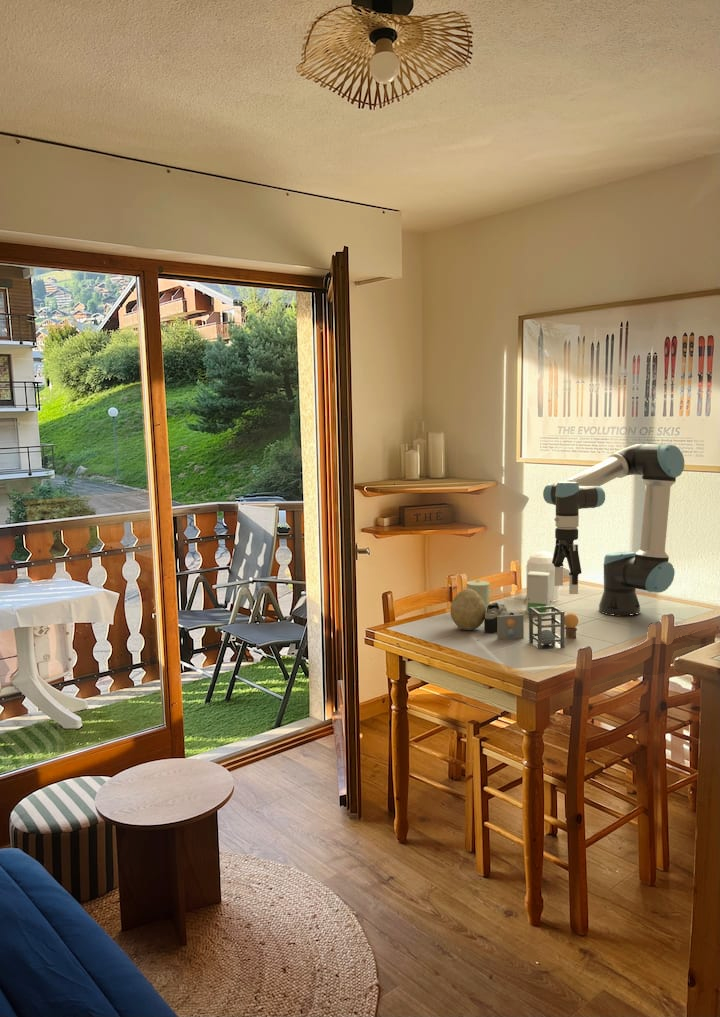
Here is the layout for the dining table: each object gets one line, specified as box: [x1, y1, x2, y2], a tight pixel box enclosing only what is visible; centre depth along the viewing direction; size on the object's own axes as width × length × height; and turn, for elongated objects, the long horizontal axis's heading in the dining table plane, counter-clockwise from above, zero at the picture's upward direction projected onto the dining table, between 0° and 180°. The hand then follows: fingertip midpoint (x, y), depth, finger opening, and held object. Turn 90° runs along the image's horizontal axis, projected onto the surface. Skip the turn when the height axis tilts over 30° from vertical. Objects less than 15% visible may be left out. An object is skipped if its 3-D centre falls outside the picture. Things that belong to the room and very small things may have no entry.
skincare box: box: [526, 571, 551, 615], centre depth 303 cm, size 8×7×16 cm
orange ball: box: [565, 612, 579, 628], centre depth 265 cm, size 5×5×5 cm
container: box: [525, 550, 560, 601], centre depth 325 cm, size 13×13×20 cm
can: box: [466, 580, 491, 612], centre depth 307 cm, size 9×9×12 cm
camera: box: [483, 602, 515, 634], centre depth 279 cm, size 16×9×10 cm, turn 147°
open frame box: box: [528, 605, 566, 651], centre depth 258 cm, size 9×9×13 cm
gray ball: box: [542, 629, 554, 645], centre depth 258 cm, size 5×5×5 cm
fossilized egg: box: [450, 588, 486, 631], centre depth 282 cm, size 13×13×15 cm
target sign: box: [496, 613, 525, 641], centre depth 267 cm, size 9×3×9 cm, turn 98°
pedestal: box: [565, 626, 578, 640], centre depth 266 cm, size 5×5×4 cm
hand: (565, 589), depth 265 cm, fingers open, 13 cm apart
